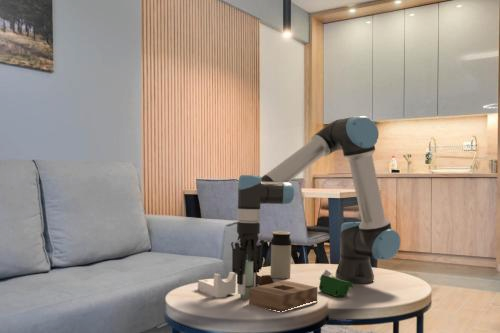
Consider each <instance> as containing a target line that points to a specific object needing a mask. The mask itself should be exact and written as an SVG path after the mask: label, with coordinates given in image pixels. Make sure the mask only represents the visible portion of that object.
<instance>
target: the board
mask: <svg viewBox="0 0 500 333" xmlns="http://www.w3.org/2000/svg"><path fill="white" fill-rule="evenodd" d="M313 301H317V302H318V286H314V285H308V284H304V283H300V282H295V281H290V280H281V281H278V282H277V281H276V282H274V283H272V284H267V285H262V286H260V285H258V286H255V287H252V288H249V299H248V304H249V305H250V306H254V307H256V308H257V307H258V308H261V307H262V309H265V308H266V309H265V310H268V309H271V310H270V311H272V310H276V311H280V312H282V311H285V310H288V309H291V308H294V307H297V306H300V305H303V304H306V303H310V302H313Z"/></svg>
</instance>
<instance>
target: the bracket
mask: <svg viewBox="0 0 500 333" xmlns="http://www.w3.org/2000/svg"><path fill="white" fill-rule="evenodd" d="M236 284H237V273H234V272H232V271H229V274H228V276H227V277H226V279H224V280H223V279H222V276H221V274H219V273H213V278H206V279H198V280H197V290H199V291H200V292H203V293H205V294H208V295H210V296H212V297H214V298H217V299H218V298H226V297H227V296H228V295H231V294H232V295H233V294H236V286H237V285H236Z"/></svg>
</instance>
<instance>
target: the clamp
mask: <svg viewBox="0 0 500 333" xmlns="http://www.w3.org/2000/svg"><path fill="white" fill-rule="evenodd" d="M353 287H354V283H351V282H347V281H343V280H341V279H338V278H335V277H333V276H331V275H326V274H321V277H320V282H319V286H318V288H319V289H318V290H319V291H320V292H322V293H325V294H327V295H331V296H333V297H337V298H343V297H344V296H348V292H349V288H353Z"/></svg>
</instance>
